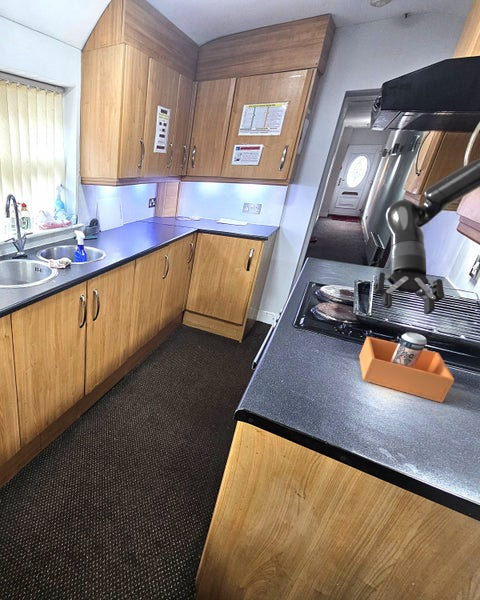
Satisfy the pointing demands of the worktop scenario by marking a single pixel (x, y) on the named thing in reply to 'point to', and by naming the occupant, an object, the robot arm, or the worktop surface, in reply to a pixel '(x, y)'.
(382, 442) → the worktop surface
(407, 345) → the beer can
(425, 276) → the robot arm
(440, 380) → the tote
